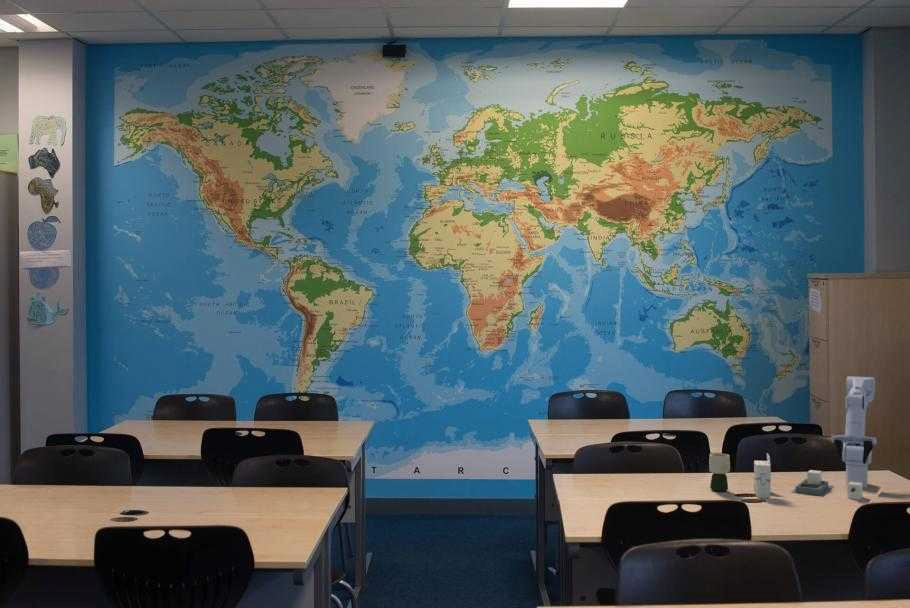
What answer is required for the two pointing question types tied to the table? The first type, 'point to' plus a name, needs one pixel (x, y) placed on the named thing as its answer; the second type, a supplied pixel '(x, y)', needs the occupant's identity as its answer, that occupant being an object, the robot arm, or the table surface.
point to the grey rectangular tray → (812, 488)
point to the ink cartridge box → (762, 478)
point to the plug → (855, 490)
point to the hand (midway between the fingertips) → (852, 462)
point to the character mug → (719, 470)
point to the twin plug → (814, 477)
